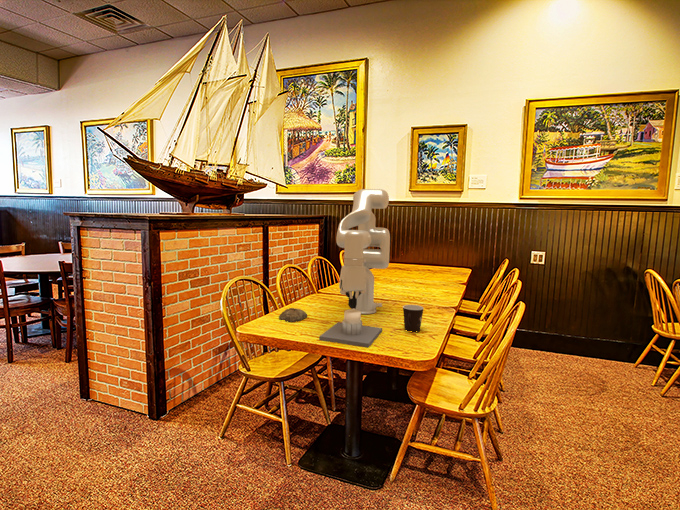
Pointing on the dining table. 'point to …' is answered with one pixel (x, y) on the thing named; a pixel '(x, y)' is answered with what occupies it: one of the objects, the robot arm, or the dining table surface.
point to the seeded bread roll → (292, 315)
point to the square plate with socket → (351, 334)
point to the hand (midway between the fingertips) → (352, 307)
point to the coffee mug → (412, 317)
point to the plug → (352, 316)
